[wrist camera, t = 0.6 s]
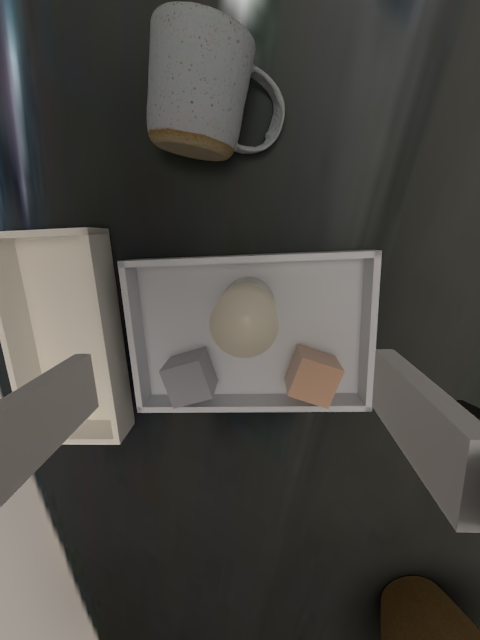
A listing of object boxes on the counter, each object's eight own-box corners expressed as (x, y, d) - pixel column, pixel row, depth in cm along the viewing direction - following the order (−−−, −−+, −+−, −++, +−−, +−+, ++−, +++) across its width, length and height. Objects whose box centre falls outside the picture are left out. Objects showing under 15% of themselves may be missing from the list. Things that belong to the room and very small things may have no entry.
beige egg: (222, 277, 31) (207, 292, 23) (273, 275, 31) (278, 289, 22) (225, 326, 33) (211, 358, 24) (274, 325, 32) (279, 357, 23)
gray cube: (170, 356, 34) (158, 371, 30) (206, 346, 33) (198, 360, 29) (183, 389, 35) (173, 408, 31) (218, 380, 34) (212, 398, 30)
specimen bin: (9, 233, 32) (-26, 232, 28) (108, 228, 31) (86, 227, 27) (49, 422, 37) (24, 444, 33) (135, 422, 36) (120, 444, 32)
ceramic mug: (159, 157, 29) (127, 130, 22) (167, 53, 27) (135, -16, 20) (273, 175, 29) (280, 154, 22) (291, 72, 27) (304, 10, 20)
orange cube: (297, 343, 32) (302, 357, 29) (334, 355, 33) (344, 371, 29) (284, 377, 33) (287, 395, 30) (320, 389, 34) (328, 409, 30)
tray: (130, 259, 32) (117, 261, 29) (370, 249, 30) (381, 250, 27) (147, 398, 35) (137, 412, 33) (362, 396, 34) (371, 411, 31)
